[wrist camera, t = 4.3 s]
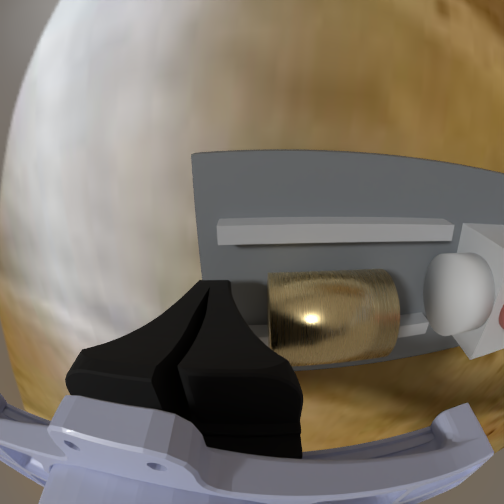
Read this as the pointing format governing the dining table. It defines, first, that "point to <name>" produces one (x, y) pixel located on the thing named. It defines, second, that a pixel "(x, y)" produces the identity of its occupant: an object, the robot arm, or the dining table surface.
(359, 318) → the brass fitting
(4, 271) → the dining table surface
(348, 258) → the valve board
